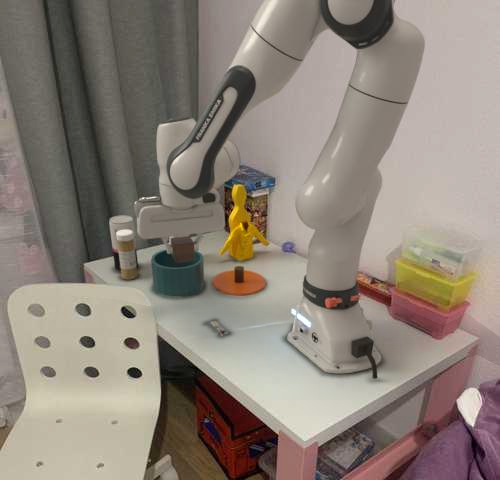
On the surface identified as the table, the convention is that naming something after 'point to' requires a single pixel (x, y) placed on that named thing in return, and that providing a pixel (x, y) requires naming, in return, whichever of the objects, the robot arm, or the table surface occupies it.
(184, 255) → the block
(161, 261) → the tin
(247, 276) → the lid
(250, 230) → the figure statuette
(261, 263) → the table surface
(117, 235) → the sprinkles bottle
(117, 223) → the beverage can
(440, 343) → the table surface
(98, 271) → the table surface
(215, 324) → the granola bar
